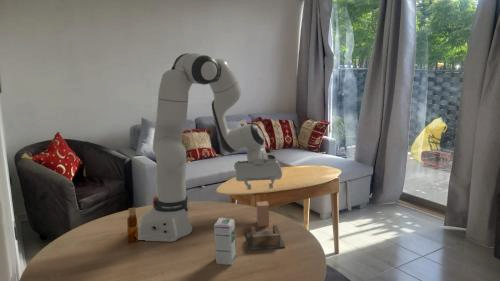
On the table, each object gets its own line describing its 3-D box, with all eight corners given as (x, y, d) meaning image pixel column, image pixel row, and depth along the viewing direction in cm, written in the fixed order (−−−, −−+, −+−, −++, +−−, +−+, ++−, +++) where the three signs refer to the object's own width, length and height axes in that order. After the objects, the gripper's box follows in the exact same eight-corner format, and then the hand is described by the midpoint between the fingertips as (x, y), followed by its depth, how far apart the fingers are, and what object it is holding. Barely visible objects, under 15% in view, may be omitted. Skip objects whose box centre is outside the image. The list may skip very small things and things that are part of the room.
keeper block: (258, 226, 158) (257, 205, 156) (256, 221, 163) (256, 201, 161) (268, 225, 159) (268, 205, 157) (267, 221, 163) (267, 201, 161)
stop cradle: (249, 250, 140) (248, 238, 139) (246, 233, 152) (246, 222, 151) (284, 247, 141) (284, 236, 140) (279, 231, 153) (279, 220, 152)
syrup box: (232, 265, 130) (231, 225, 127) (215, 263, 131) (213, 224, 128) (236, 256, 135) (235, 218, 132) (220, 255, 137) (218, 217, 133)
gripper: (234, 157, 169) (236, 186, 162) (280, 155, 171) (284, 184, 164) (233, 164, 175) (235, 193, 167) (278, 162, 176) (282, 190, 169)
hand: (260, 188), depth 166 cm, fingers open, 8 cm apart
